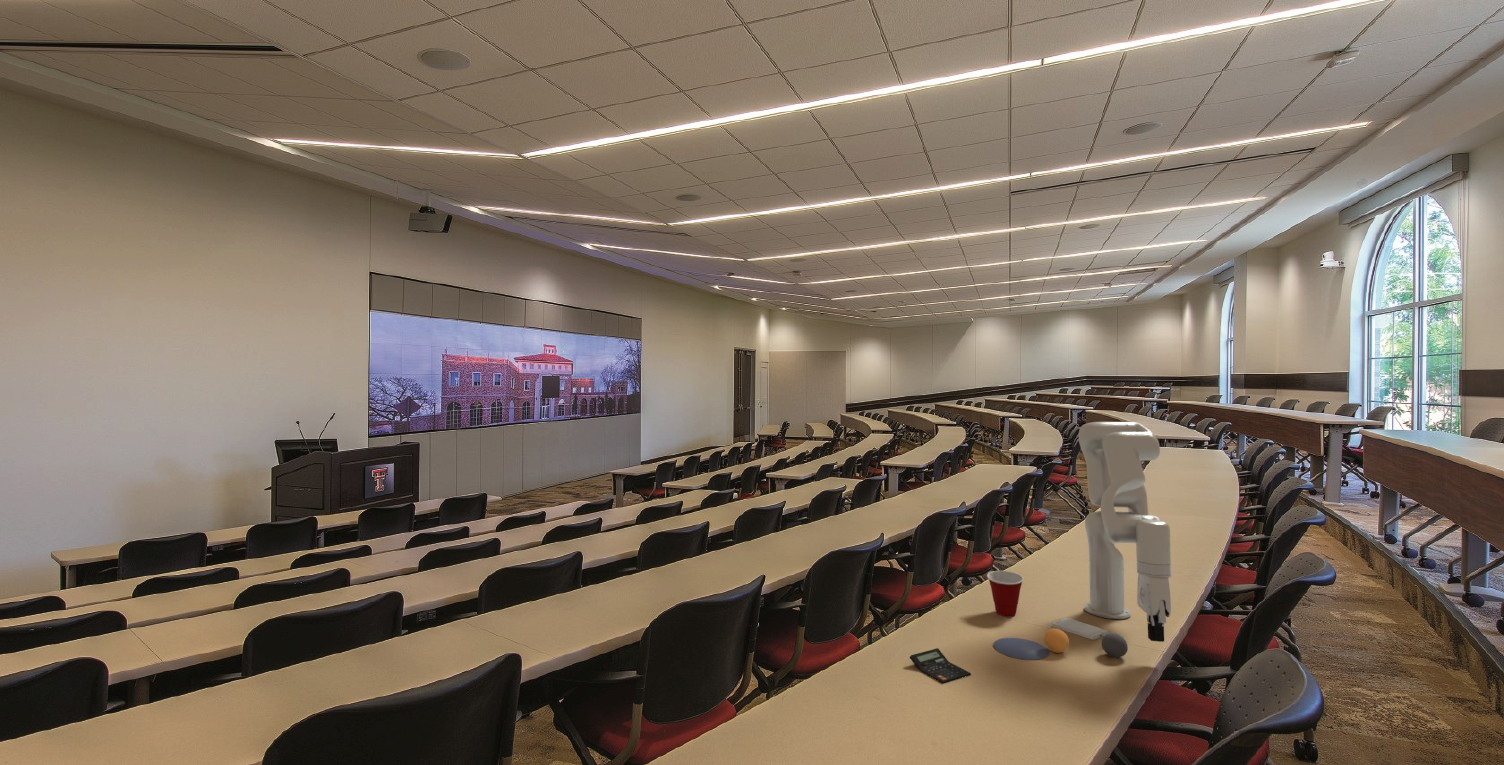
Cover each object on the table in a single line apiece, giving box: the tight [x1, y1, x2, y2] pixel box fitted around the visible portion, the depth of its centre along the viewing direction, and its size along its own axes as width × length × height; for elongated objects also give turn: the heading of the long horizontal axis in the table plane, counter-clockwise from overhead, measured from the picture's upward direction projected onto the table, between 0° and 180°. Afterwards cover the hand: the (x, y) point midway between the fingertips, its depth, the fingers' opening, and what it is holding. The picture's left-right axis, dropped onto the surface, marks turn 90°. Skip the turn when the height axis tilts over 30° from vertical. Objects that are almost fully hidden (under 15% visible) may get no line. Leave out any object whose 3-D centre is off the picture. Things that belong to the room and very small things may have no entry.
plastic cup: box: [986, 570, 1025, 617], centre depth 195 cm, size 11×11×12 cm
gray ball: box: [1101, 632, 1129, 659], centre depth 163 cm, size 6×6×6 cm
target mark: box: [993, 637, 1050, 661], centre depth 169 cm, size 14×14×1 cm
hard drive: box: [1051, 617, 1110, 641], centre depth 182 cm, size 2×8×12 cm
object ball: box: [1043, 628, 1070, 654], centre depth 167 cm, size 6×6×6 cm
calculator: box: [909, 647, 972, 684], centre depth 157 cm, size 9×12×3 cm
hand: (1156, 640), depth 160 cm, fingers closed
